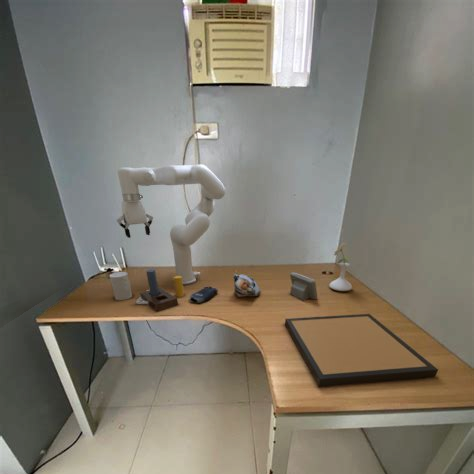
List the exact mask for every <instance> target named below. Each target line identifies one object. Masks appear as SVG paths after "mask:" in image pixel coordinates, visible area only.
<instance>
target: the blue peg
mask: <svg viewBox="0 0 474 474" xmlns="http://www.w3.org/2000/svg"><path fill="white" fill-rule="evenodd" d="M145 272H146V278H147V282H148V287H149V290H150V294H151V295H152V296H154V295H157V294H159V290H158V288H159V284H158V277H157V272H156V269H154V268H153V269H152V268H150V269H147V270H146V271H145Z"/></svg>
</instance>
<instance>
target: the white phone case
mask: <svg viewBox="0 0 474 474" xmlns="http://www.w3.org/2000/svg"><path fill="white" fill-rule="evenodd" d="M149 290H150V289H147V290H146V291H149ZM136 305H148V302H145V301H144V300H142V299H141V296H140V297H139V298H138V299H137V300H136Z"/></svg>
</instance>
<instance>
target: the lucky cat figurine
mask: <svg viewBox="0 0 474 474" xmlns="http://www.w3.org/2000/svg"><path fill="white" fill-rule="evenodd" d="M233 279H234V280H233V283H234V284H233V286H234V294H235V295H236V296H237V297H238V298H241V297H259V295H260V294H261V292H262V291H261V289H260V288H259V286H258V284H257V282H256V281H255V280H254V277H252V276H250V277H249V276H248V275H246V274H239V275H238V273H236V272H235V273H233Z"/></svg>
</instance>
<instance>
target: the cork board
mask: <svg viewBox="0 0 474 474" xmlns="http://www.w3.org/2000/svg"><path fill="white" fill-rule="evenodd" d="M284 326H285V327H286V328H285V329H286V330H287V331H288V333H289V335H290V337H291V339H292V340H293V343H294V344H295V346H296V348H297V350H298V351H299V353H300V356H301V358H302V359H303V361H304V363H305V365H306V367H307V368H308V370H309V372H310V374H311V375H312V377H313V379H314V381H315V383H316V385H317V387H318V388H321V387H333V386H344V385H345V386H346V385H357V384H369V383H382V382H392V381H405V380H416V379H417V380H418V379H429V378H436V376H437V374H438V371H439V369H438V368H437V367H436V366H434V365H433V364H432V363H431V362H430V361H428V360H427V359H426V358H425V357H424V356H422V355H421V354H420V353H419V352H417V351H416V350H415V349H413V348H412V347H411V346H409V345H408V344H407V343H406V342H405V341H404V340H402V339H401V338H400V337H399V336H398V335H397V334H395V333H394V332H393V331H392V330H390V329H389V328H388V327H386V326H385V325H384V324H383V323H381V322H380V321H379V320H378V319H377V318H375V317H374V316H373V315H371V313H362V314H361V313H360V314H343V315H330V316H329V315H327V316H326V315H325V316H309V317H295V318H285V321H284Z"/></svg>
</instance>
